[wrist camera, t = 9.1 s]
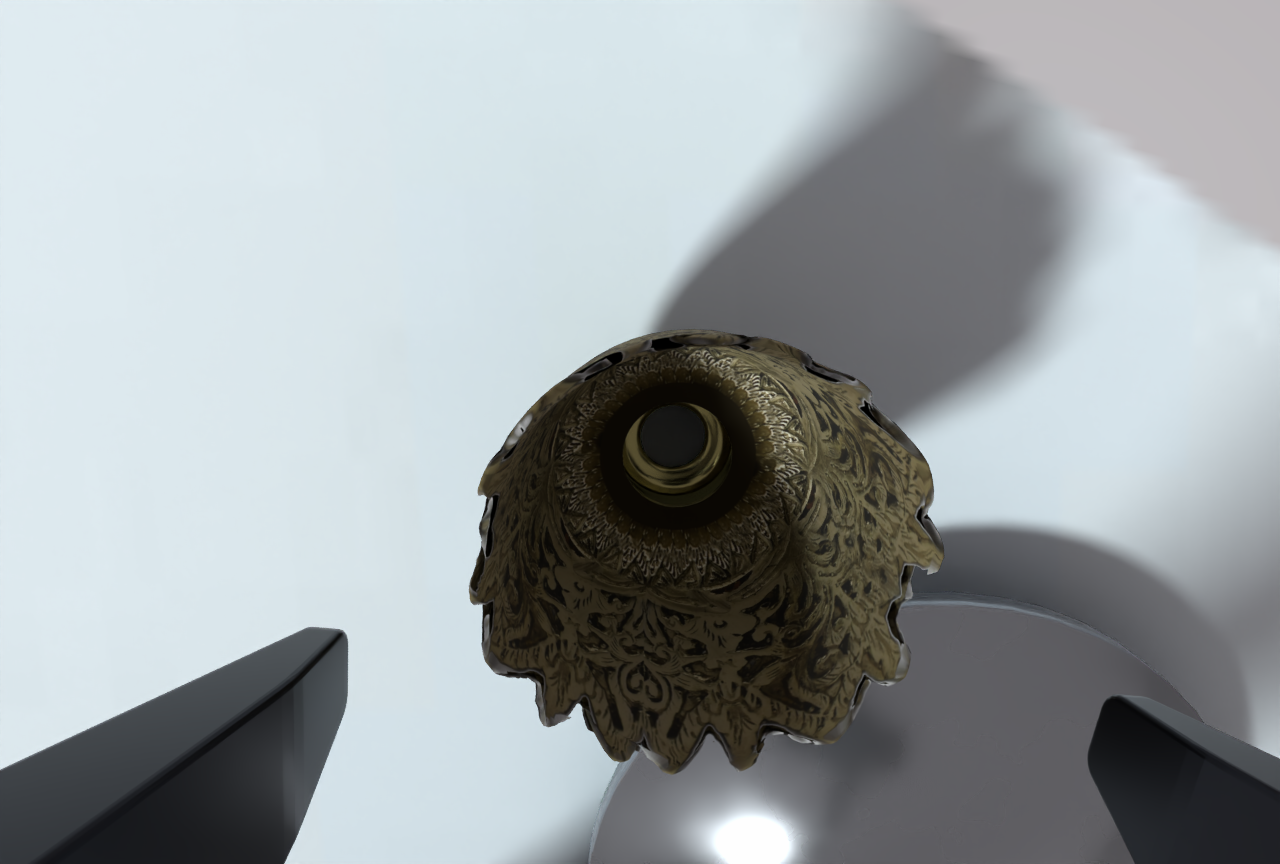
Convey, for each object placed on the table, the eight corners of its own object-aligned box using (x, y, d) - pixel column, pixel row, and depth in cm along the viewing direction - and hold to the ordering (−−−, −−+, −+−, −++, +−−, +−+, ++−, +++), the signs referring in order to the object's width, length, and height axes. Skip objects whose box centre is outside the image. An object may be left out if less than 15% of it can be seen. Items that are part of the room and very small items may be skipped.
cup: (560, 255, 18) (515, 281, 10) (853, 325, 19) (1016, 399, 11) (503, 537, 20) (429, 736, 12) (770, 592, 21) (860, 815, 13)
